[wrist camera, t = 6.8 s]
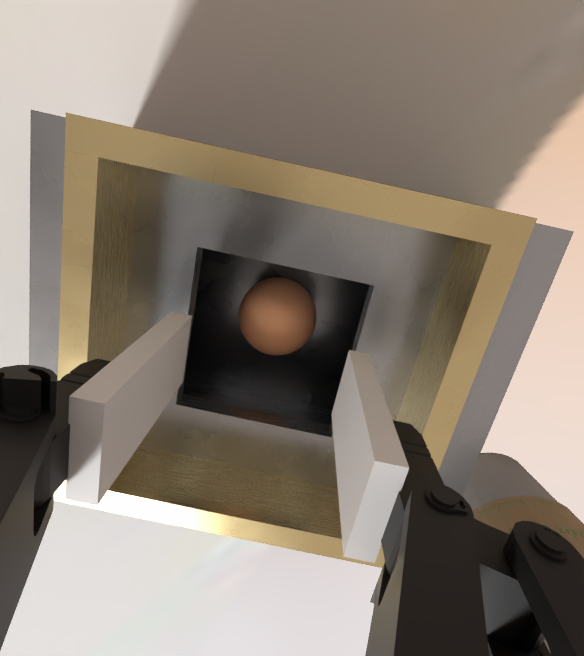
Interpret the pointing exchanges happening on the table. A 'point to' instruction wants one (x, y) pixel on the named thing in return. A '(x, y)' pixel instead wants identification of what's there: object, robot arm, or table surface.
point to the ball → (277, 316)
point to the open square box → (223, 316)
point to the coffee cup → (517, 500)
